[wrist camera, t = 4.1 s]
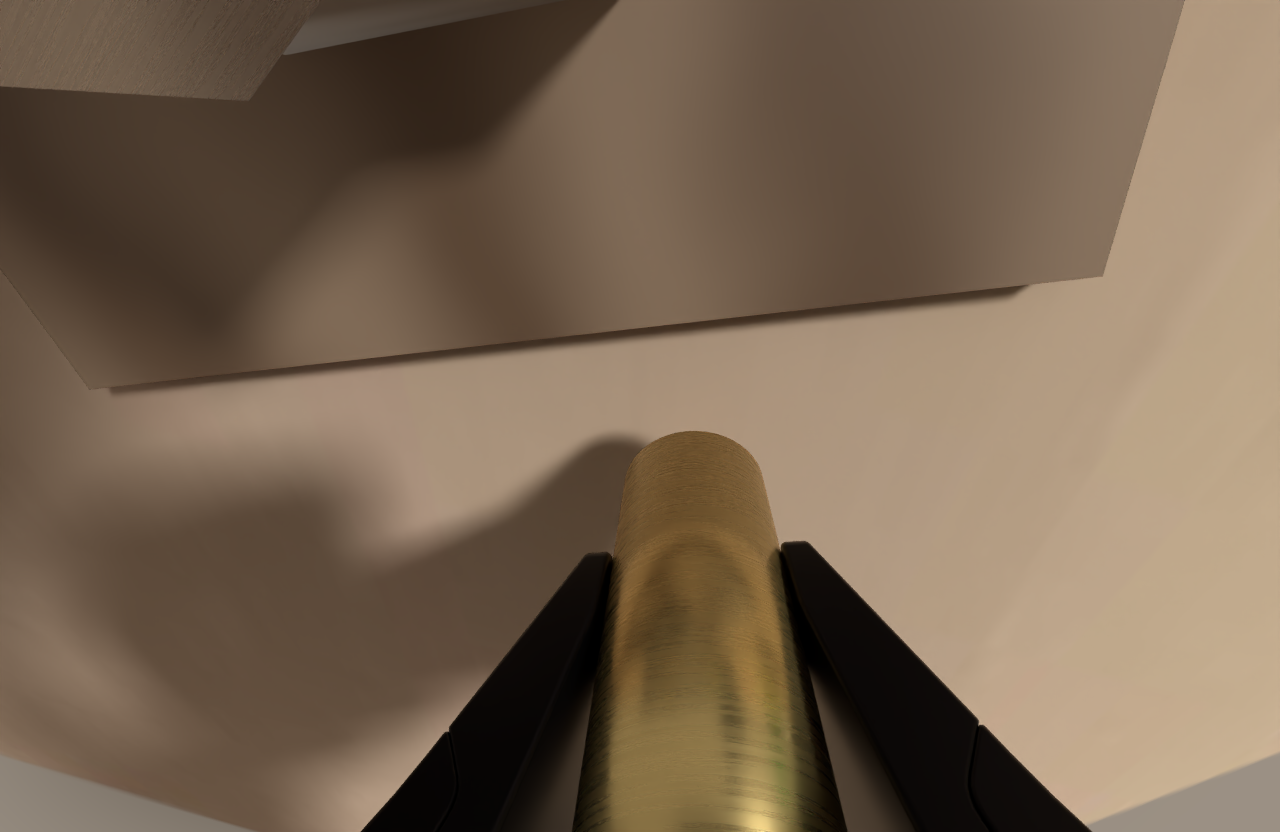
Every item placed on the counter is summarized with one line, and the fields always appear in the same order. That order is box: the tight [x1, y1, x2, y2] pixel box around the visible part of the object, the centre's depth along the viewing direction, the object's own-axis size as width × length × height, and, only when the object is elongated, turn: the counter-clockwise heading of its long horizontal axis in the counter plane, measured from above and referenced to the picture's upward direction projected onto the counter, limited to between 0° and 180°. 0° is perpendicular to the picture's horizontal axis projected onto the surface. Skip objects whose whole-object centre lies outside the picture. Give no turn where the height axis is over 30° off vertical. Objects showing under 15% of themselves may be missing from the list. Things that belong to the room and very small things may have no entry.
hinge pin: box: [572, 431, 848, 832], centre depth 7 cm, size 3×3×8 cm
